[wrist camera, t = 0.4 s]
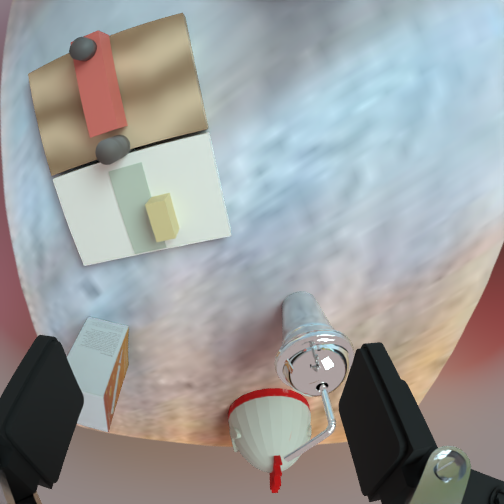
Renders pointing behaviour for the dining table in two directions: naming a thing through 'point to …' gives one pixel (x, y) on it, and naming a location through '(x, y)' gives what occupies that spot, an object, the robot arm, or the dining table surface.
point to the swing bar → (98, 83)
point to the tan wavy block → (122, 96)
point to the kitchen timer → (269, 429)
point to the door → (145, 201)
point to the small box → (99, 369)
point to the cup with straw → (312, 357)
